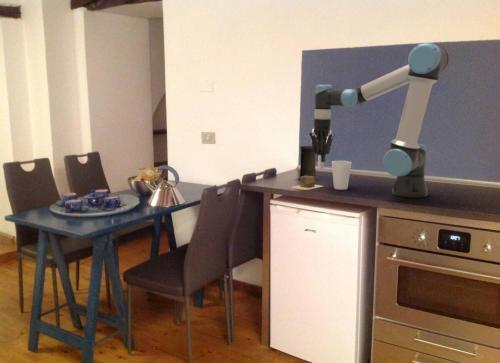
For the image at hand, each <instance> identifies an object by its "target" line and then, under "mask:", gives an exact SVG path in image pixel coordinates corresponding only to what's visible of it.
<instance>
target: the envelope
mask: <svg viewBox="0 0 500 363" xmlns="http://www.w3.org/2000/svg"><path fill="white" fill-rule="evenodd" d="M321 187H324V185H319V184H315V187H311V188H305V187H300V184H299V185H296V186H295V185H294V186H290V188H291V189H292V188H293V189H298V190H303V191H304V190H305V191H309V190H312V189H317V188H321Z"/></svg>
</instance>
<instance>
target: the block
mask: <svg viewBox="0 0 500 363" xmlns="http://www.w3.org/2000/svg"><path fill="white" fill-rule="evenodd" d="M299 178H300V180H299V185H300V187H305V188H311V187H315V185H316V184H315V183H316V181H315V177H314V176H307V175H306V176H301V177H300V176H299Z"/></svg>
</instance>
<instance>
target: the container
mask: <svg viewBox="0 0 500 363" xmlns="http://www.w3.org/2000/svg"><path fill="white" fill-rule="evenodd" d="M316 162H317V154H316V153H313V147H312V145H301V146H300V170H299V172H300V173H299V180H298V181H300V177H301V176H306V175H307V176H314V177H315V182H316V181H317V175H316V172H317V170H316Z"/></svg>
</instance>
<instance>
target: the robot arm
mask: <svg viewBox="0 0 500 363" xmlns="http://www.w3.org/2000/svg"><path fill="white" fill-rule="evenodd" d="M408 54H409V55H408V58H407V63H408V64H406V65H404V66H402V67H400V68H397V69H395V70H393V71H390V72H389V73H387V74H384V75H382V76H380V77H378V78H375V79H374V80H371V81H369V82H367V83H364V84H363V85H361V86H358V87H357V88H354V89H351V88H344V89H343V88H341V89H340V88H336V89H335V88H334V89H333V85H331V84H317V85H316V86H315V90H314V113H313V114H314V117H313V118H314V120H313V126H314V127H313V128H314V129H313V131H312V132H310V133H308V134H309V136H310V140H311V146H312V147H313V153H315V154H316V162H317V169H318V170H322V169H324V165H325V162H326V155H329V154H330V150H331V147H332V143H333V139H334V137H335V134H334V133H332V132H331V129H330V128H331V117H332V115H331V114H332V113H331V112H332V107H333V106H334V107H348V108H349V107H359V106H362V105H365V103H366V102H368V101H370V100H371V101H372V100H373V99H375V98H377V97H381V96H382V95H384V94H387V93H389V92H391V91H394V90H396V89H399V88H401V87H403V86H405V85H409V86H408V89H407V94H406V97H405V101H404V105H403V108H402V113H401V117H400V121H399V125H398V129H397V131H396V132H397V133H396V137H395V138H394V139H392V140H391V141H390V145H389V150H388V151H387V152H386V153H385V154H384V156H383V159H382V164H383V168H384V169H385V171H386V172H387V173H388V174H390V175H392V176H394V177H396V179H395V180H394V184H393V186H392V189H391V193H392V195H394V196H397V197H403V198H425V197H428V187H427V183H426V180H425V174H426V171H425V170H426V158H427V157H426V156H427V146H426V145H425V144H423V143H418V140H419V136H420V134H421V129H422V126H423V121H424V118H425V115H426V110H427V106H428V104H429V103H428V102H429V99H430V95H431V92H432V88H433V85H434V84H435V83H436V82H438V81H439V76H440V74H442V73H443V72H444V71H445V70H446V69H447V67H448V66H449V63H450V56H449V52H448V50H447V49H445V47H443V46H440V45H437V44H434V43H432V42H430V43H429V42H423V43H420V44H417V45H416V46H415V47H413V48H412V50H410V53H408Z"/></svg>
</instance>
